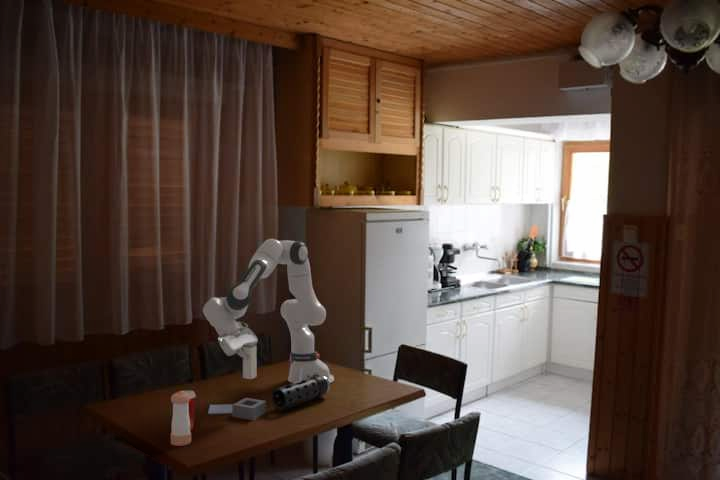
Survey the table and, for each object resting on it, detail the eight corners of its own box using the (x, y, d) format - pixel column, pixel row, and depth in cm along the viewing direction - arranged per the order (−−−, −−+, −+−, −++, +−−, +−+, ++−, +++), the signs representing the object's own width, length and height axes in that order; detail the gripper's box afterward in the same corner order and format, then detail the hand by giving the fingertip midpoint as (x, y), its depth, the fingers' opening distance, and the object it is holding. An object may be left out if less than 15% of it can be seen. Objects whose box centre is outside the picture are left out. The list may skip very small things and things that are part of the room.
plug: (248, 375, 276) (248, 342, 275) (256, 376, 274) (256, 343, 273) (243, 378, 272) (242, 344, 271) (251, 379, 271) (251, 345, 269)
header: (245, 409, 281) (245, 397, 281) (266, 412, 277) (266, 401, 277) (232, 416, 272) (232, 404, 271) (253, 420, 268) (253, 408, 268)
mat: (233, 405, 285) (233, 404, 285) (232, 413, 276) (232, 412, 275) (210, 406, 284) (210, 404, 284) (207, 414, 274) (207, 412, 274)
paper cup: (179, 424, 262) (178, 389, 261) (198, 424, 262) (198, 390, 261) (172, 431, 255) (172, 395, 254) (192, 432, 254) (192, 396, 253)
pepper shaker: (166, 444, 243) (166, 392, 241) (178, 437, 249) (178, 387, 248) (183, 447, 240) (182, 395, 238) (195, 440, 247) (194, 389, 245)
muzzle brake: (270, 409, 281) (270, 385, 280) (315, 394, 303) (315, 372, 302) (286, 415, 275) (286, 390, 275) (331, 398, 297) (331, 376, 296)
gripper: (220, 331, 264) (241, 358, 262) (248, 322, 283) (268, 347, 280) (211, 341, 267) (232, 368, 264) (239, 331, 285) (259, 356, 283)
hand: (251, 357), depth 272 cm, fingers closed on plug, 4 cm apart
